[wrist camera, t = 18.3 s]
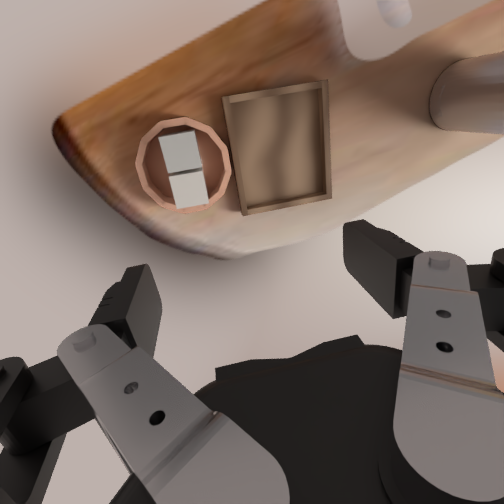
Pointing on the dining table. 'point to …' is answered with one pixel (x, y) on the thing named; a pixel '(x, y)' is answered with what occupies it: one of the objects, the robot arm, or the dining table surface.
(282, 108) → the tray
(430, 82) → the dining table surface
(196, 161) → the light grey block
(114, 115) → the dining table surface
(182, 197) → the white rectangular block
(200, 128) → the bowl
